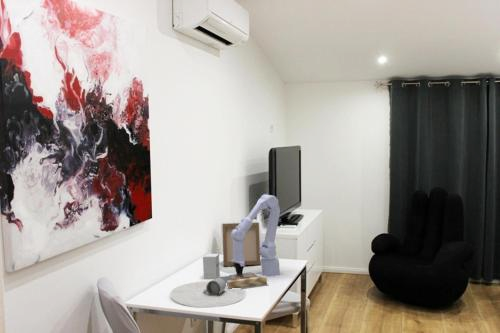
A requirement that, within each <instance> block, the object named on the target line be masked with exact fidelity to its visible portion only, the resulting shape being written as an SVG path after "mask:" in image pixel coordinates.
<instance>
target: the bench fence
mask: <svg viewBox="0 0 500 333" xmlns="http://www.w3.org/2000/svg"><path fill="white" fill-rule="evenodd" d="M255 275H256V274H255ZM255 275H251V278H244V279H240V277H236V280H229V281H227V286H228V288H229V289H232V288H242V287H249V286H257V285H264V284H267V285H268V279H267V278H268V276H262V275H259V276H258V277H255ZM227 286H226V287H227ZM228 288H227V289H228ZM229 289H228V290H229Z"/></svg>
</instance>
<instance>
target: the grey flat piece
mask: <svg viewBox="0 0 500 333" xmlns="http://www.w3.org/2000/svg"><path fill="white" fill-rule="evenodd" d="M252 273H253V272H251V271H250V272H242V273H241V274H237V273H235V274H229V275H228V276H229V280H236V277H240V279H244V278H251V275H253V274H252Z"/></svg>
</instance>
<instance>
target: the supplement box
mask: <svg viewBox="0 0 500 333" xmlns="http://www.w3.org/2000/svg"><path fill="white" fill-rule="evenodd" d="M202 264H203V265H202V266H203V279H204V280H214V279H216V278H218V277H221V276H220V275H221V274H220V254H219V253H206V254H205V255H204V256H202Z"/></svg>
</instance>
